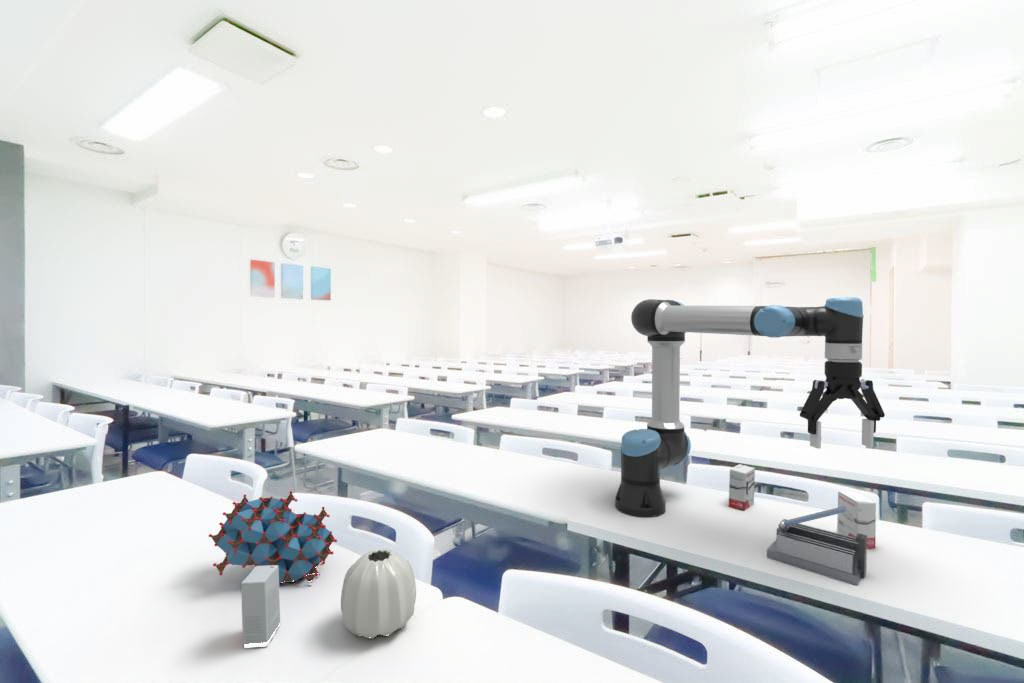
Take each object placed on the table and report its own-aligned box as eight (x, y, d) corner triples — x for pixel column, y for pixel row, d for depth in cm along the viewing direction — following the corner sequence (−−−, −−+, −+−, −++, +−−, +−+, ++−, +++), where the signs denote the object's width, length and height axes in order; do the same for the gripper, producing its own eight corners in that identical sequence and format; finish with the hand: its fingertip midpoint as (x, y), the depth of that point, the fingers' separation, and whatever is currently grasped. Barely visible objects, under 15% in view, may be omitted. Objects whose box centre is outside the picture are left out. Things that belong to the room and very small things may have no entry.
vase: (344, 658, 81) (343, 581, 80) (339, 612, 93) (338, 546, 93) (424, 636, 86) (423, 564, 86) (409, 596, 99) (408, 533, 98)
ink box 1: (744, 511, 144) (745, 472, 143) (728, 506, 147) (728, 469, 147) (754, 503, 150) (755, 466, 149) (738, 499, 153) (739, 463, 153)
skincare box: (257, 627, 89) (256, 565, 88) (280, 626, 89) (279, 564, 89) (241, 649, 83) (240, 582, 82) (266, 648, 83) (265, 581, 83)
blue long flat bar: (780, 529, 117) (777, 524, 117) (784, 525, 119) (781, 519, 120) (845, 514, 107) (841, 508, 108) (848, 509, 110) (844, 503, 110)
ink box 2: (876, 548, 120) (877, 502, 119) (856, 548, 120) (857, 502, 120) (854, 533, 128) (855, 490, 128) (835, 533, 129) (836, 490, 128)
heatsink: (766, 557, 115) (767, 521, 115) (780, 541, 124) (781, 508, 124) (860, 586, 102) (861, 546, 102) (869, 566, 111) (870, 529, 111)
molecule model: (348, 518, 118) (253, 471, 112) (341, 543, 104) (233, 492, 99) (312, 577, 116) (214, 533, 111) (300, 611, 102) (188, 562, 97)
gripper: (805, 362, 111) (803, 451, 112) (904, 361, 113) (902, 449, 114) (784, 360, 119) (783, 443, 119) (877, 359, 121) (876, 441, 121)
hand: (841, 446), depth 117 cm, fingers open, 13 cm apart
